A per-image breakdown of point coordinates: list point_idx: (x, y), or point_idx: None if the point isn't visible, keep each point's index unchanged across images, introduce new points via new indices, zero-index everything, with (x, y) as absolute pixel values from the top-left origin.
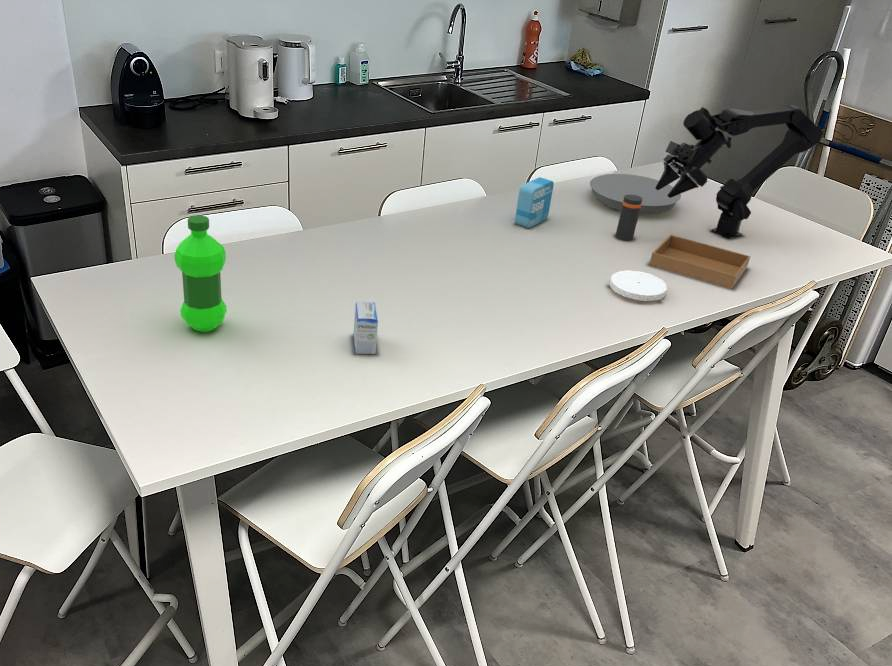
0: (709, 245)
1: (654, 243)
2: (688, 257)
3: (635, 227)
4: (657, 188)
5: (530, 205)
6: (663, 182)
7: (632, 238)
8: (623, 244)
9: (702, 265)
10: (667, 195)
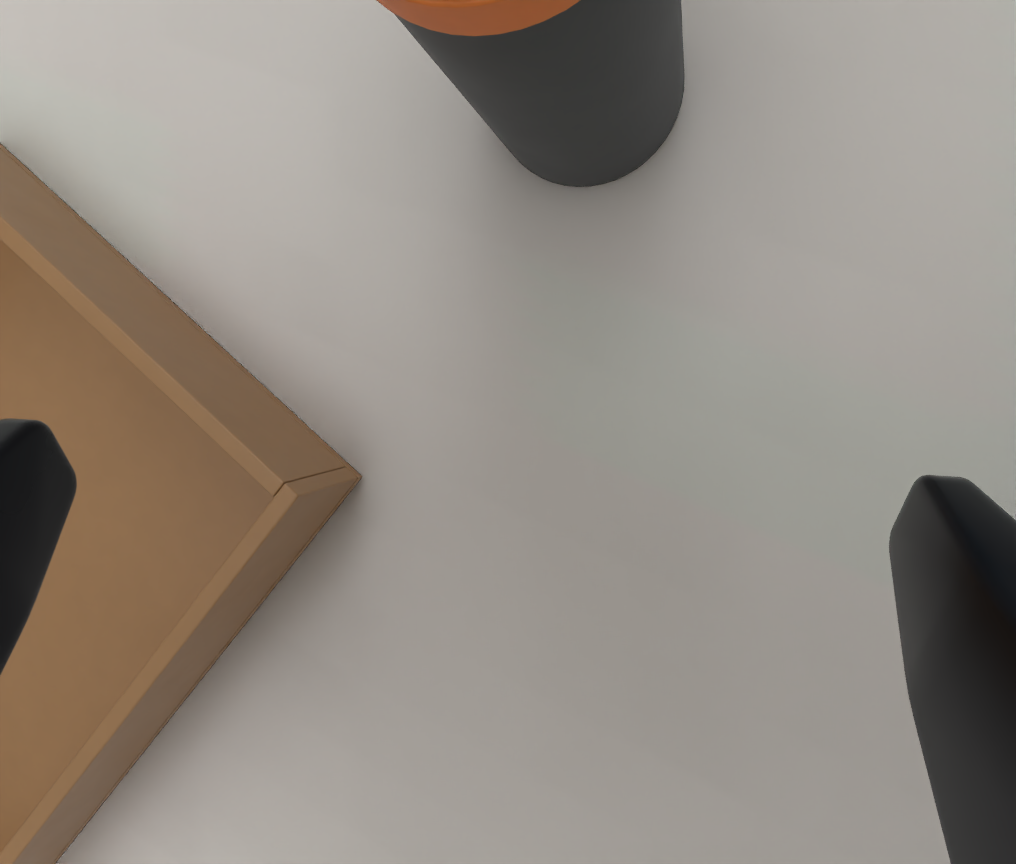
0: (60, 786)
1: (444, 381)
2: (135, 565)
3: (493, 127)
4: (910, 529)
5: None
6: (1002, 770)
7: (514, 156)
8: None
9: None
10: (33, 420)
